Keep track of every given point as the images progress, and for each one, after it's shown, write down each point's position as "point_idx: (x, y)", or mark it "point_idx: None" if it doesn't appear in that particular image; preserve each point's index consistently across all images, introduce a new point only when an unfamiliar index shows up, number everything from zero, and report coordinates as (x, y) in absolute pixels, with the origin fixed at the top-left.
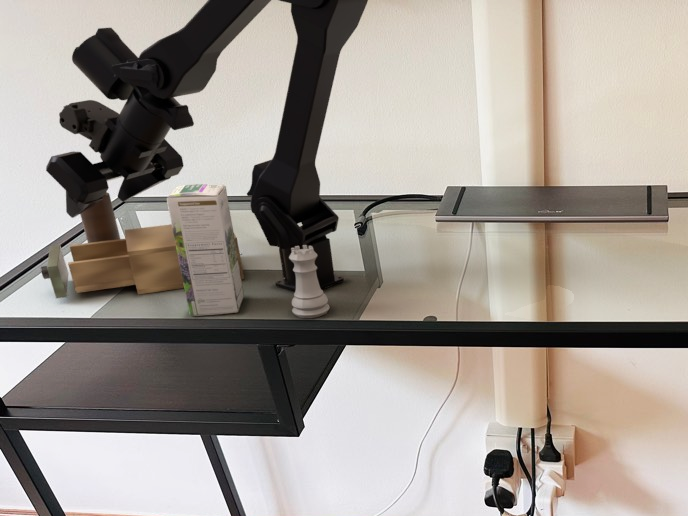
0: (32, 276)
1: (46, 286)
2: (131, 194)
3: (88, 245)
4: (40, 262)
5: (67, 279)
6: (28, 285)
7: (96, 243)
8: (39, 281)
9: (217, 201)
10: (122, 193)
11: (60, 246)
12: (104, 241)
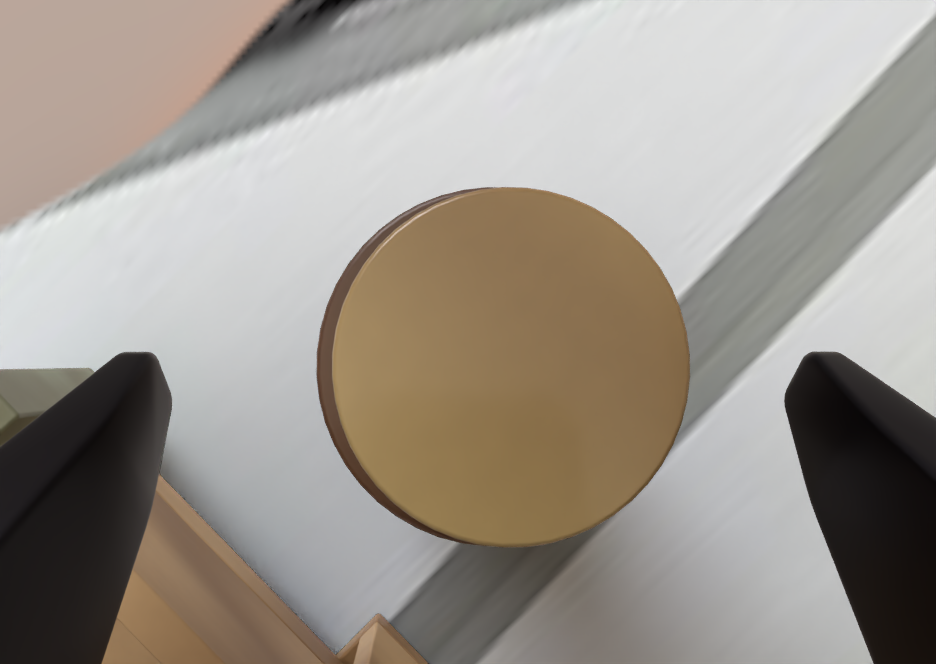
0: (134, 154)
1: (21, 358)
2: (840, 544)
3: None
4: (340, 4)
5: None
6: (7, 253)
7: (140, 636)
8: (77, 256)
9: None
10: (833, 430)
11: (12, 427)
12: (195, 659)
